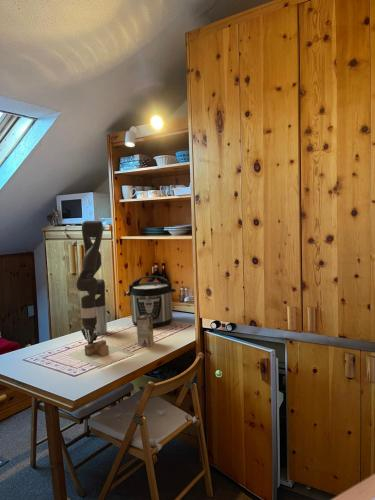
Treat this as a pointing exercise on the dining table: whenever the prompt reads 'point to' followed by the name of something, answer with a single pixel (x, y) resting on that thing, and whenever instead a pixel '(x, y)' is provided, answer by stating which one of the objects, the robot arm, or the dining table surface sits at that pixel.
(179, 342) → the dining table surface
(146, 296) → the pressure cooker
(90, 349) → the t block
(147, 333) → the coffee box
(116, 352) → the board
